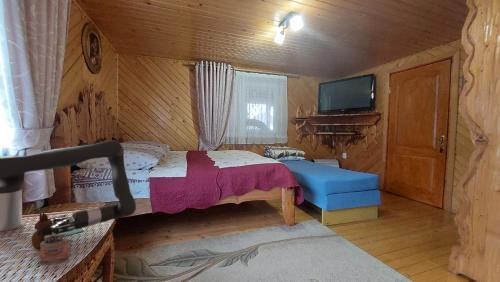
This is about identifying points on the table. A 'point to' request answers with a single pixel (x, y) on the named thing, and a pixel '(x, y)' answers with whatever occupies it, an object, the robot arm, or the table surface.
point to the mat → (73, 231)
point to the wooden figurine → (41, 224)
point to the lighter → (54, 249)
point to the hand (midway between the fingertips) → (36, 229)
